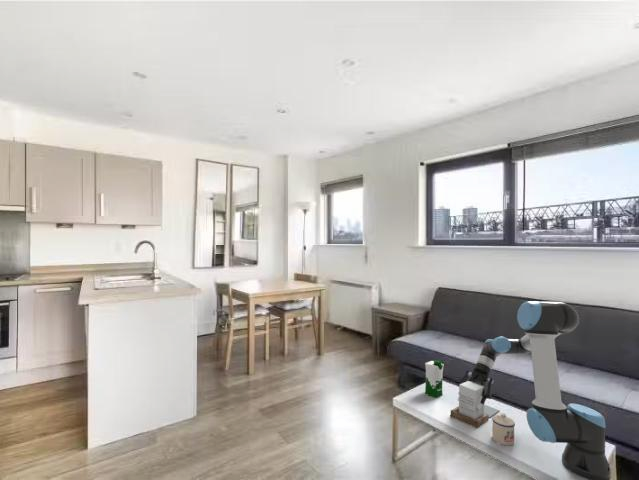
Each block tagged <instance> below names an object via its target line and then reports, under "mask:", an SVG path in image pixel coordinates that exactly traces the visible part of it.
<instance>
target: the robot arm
mask: <svg viewBox="0 0 639 480" xmlns="http://www.w3.org/2000/svg"><path fill="white" fill-rule="evenodd" d="M516 318H517V323H518V325H519V327H520V328H521V329H523V330H524V335H523V336H522V337H520V338H519V339H517V338H515V339H514V338H507V337H505V336H498V337H495V338H494V339H491V338H488V339H486V340H485V342H484V344H483V347H482V349H481V351H480V355H479V357H478V358H477V361H476V362H475V363H476V364H475V366H474V369H473V371H472V372H471V371H469V370H466V372H465V374H464V376H463V377H462V378H461V380H460V381H459V382H458V384H457V386H458V387H459V385H460V384H462V383H464V382H467V381H470V382H473V383H476V384H479V385H481V386H484V389H483V392H482V393H483V396H480V399H479V401H478V404H477V407H476V408H477V409H478V410H479V411H480V408H481V406H482V404H483V405H485V403H486V401H487V399H489V400H491V399H492V396H493V395H492V393H493V385H494V383H495V382H494V379H493V377H491V378H490V375H491V372H492V369H493V367H494V364H495V362H496V359H497V357H499V356H501V355H524V356H525V355H527V356H531V362H532V373H533V383H534V385H533V386H534V391H535V393H534V394H535V398H534V399H533V400H532V401H531V406H532V407H530V408H528V409H527V411H526V421H527V425H528V427H529V429H530V431H531V433H532V434H533V436H535V437H536V438H537V440H539V441H541V442H546V443H551V444H555V443H556V444H557V443H562V444H564V443H565V444H566V445H565V447H564V449H563V452H562V454H561V462H562V464H563V465H564V466H565V468H567V469H568V470H569V471H571V472H572V473H574V474H576V475H577V476H579V477H583V478H585V479H588V480H611V478H612V470H611V467H610V464H609V462H608V459H607V456H606V428H607V426H606V419H605V417H604V415H603V414H601V413H600V412H598V411H596V410H595V409H592V408H590V407H588V406H585V405H582V404H578V403H568V404H567V406H566V405H565V404H564V403H563V401H562V393H561V386H560V378H559V377H560V376H559V369H558V367H559V366H558V360H557V359H558V358H557V351H556V341H555V340H556V338H557V337H558V336H560V335H566V334H569V333H571V332H573V331H574V330H575V329H576V328H577V327H578V325H579V324H580V317H579V313H578V312H577V311H576V309H575V308H574V307H573V306H572V305H569V304H567V303H565V302H561V301H536V300H534V301H525V302H523V303H522V304H521V305H520V307H518V311H517V316H516ZM486 382H488V383H487V390H486ZM457 402H459V396H458V398H457Z"/></svg>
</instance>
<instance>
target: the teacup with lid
mask: <svg viewBox="0 0 639 480" xmlns="http://www.w3.org/2000/svg"><path fill="white" fill-rule="evenodd" d="M491 421H492V427H491V428H492V430H491V431H492V432H491V437H492V439H493V441H495V442H496V443H498V444H500V445H503V446H507V447H508V446H509V447H511V446H513V445H514V444H515V426H516V422H515V421H514V420H513V419H512V418H511V417H508V416H507V415H506V413H504V412H503V413H500V414H495V415H494V416H492V417H491Z"/></svg>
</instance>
